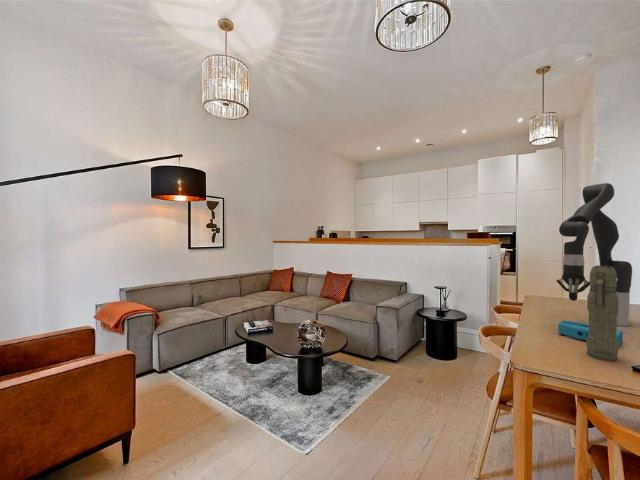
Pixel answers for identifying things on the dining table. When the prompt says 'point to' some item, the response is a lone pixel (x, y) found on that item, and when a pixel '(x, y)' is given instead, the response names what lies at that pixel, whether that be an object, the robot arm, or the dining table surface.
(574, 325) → the block
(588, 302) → the olive green pouch
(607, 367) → the dining table surface
